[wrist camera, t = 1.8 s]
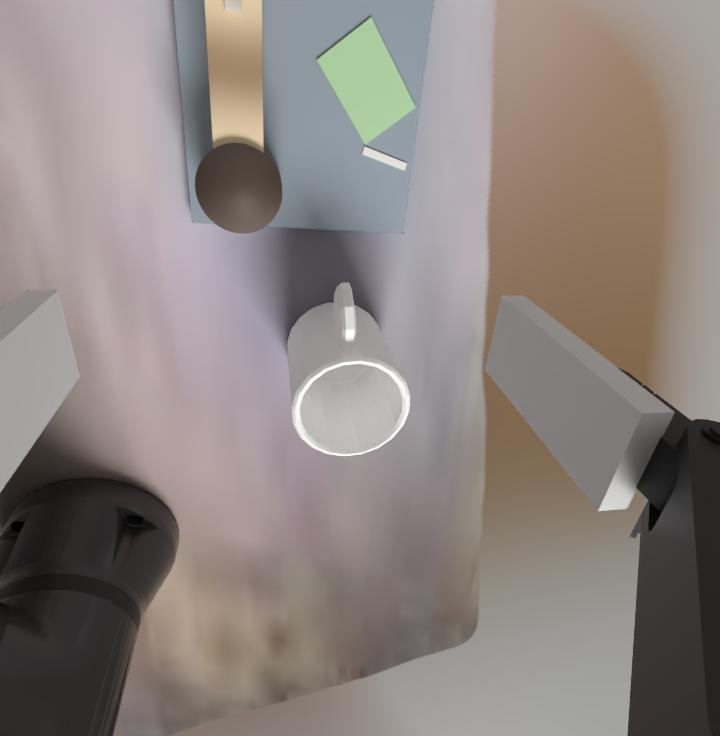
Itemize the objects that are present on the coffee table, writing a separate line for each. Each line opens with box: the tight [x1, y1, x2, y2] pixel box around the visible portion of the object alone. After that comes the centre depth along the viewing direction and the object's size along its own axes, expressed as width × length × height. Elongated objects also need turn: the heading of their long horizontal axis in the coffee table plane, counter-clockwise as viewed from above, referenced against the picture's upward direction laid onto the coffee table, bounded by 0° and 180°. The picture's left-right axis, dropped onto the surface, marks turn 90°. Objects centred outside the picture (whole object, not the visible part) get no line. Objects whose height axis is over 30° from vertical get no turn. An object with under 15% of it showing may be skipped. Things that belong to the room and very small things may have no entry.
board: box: [173, 0, 434, 234], centre depth 30 cm, size 15×16×1 cm
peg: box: [195, 0, 282, 233], centre depth 27 cm, size 14×5×4 cm, turn 174°
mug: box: [287, 282, 410, 456], centre depth 34 cm, size 8×12×10 cm
